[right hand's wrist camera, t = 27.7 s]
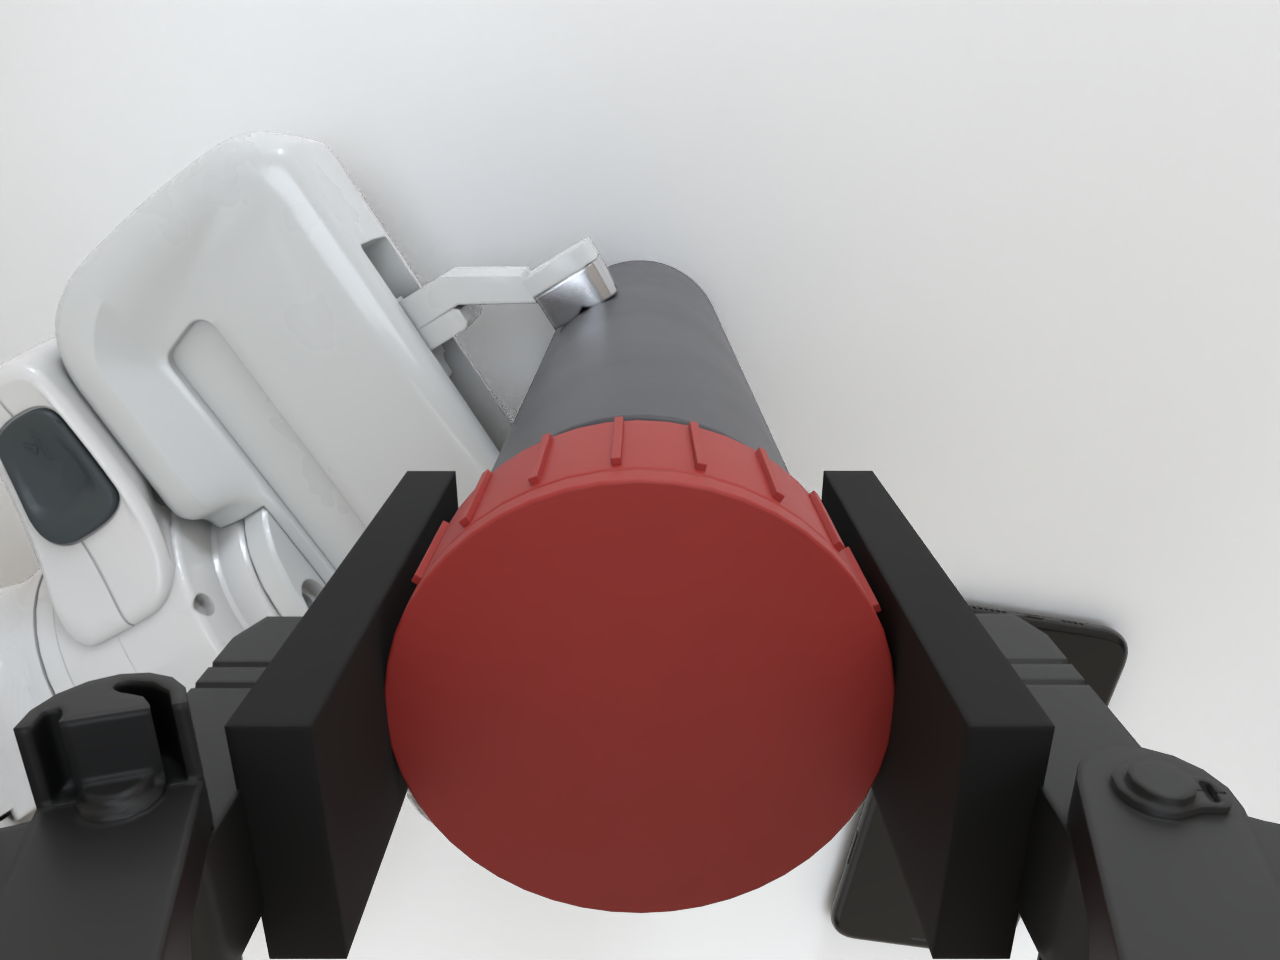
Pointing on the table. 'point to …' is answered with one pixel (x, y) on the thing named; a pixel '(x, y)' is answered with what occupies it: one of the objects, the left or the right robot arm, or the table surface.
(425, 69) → the table surface
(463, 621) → the lid
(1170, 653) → the table surface
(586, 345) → the jar
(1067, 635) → the smartphone
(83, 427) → the left robot arm
